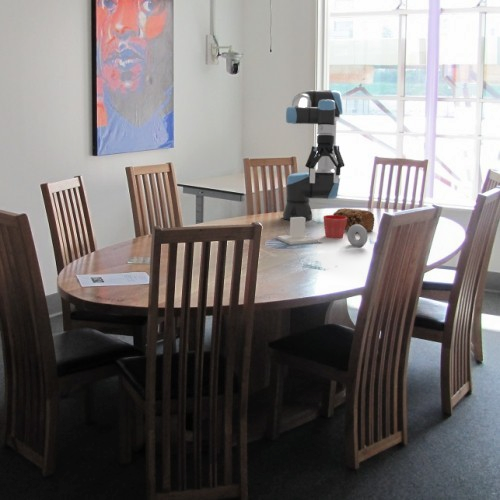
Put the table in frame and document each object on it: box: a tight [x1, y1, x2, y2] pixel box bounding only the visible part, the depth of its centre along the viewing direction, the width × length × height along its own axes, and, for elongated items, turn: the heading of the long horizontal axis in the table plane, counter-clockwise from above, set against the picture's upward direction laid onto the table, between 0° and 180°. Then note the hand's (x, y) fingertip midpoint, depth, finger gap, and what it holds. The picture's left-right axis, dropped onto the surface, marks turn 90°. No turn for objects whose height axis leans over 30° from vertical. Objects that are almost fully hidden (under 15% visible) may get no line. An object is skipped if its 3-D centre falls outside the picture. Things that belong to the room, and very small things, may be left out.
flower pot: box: [323, 214, 347, 239], centre depth 365 cm, size 11×11×10 cm
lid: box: [277, 217, 318, 244], centre depth 355 cm, size 13×13×10 cm
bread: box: [332, 208, 375, 233], centre depth 386 cm, size 19×11×10 cm, turn 38°
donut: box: [346, 224, 369, 248], centre depth 346 cm, size 10×4×10 cm, turn 47°
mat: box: [272, 237, 323, 247], centre depth 356 cm, size 18×16×1 cm
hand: (324, 183), depth 360 cm, fingers open, 13 cm apart
